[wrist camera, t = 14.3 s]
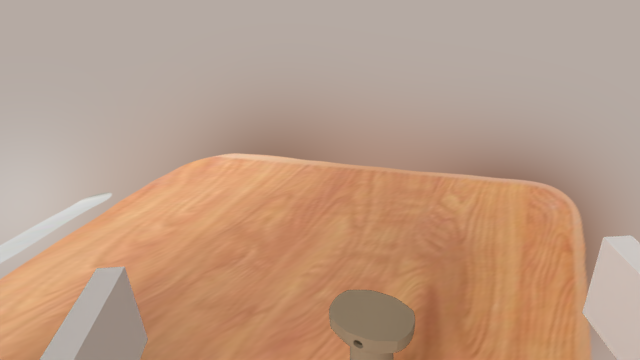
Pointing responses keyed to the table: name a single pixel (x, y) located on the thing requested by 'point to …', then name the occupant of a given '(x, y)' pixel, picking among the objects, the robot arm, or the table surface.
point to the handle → (371, 324)
